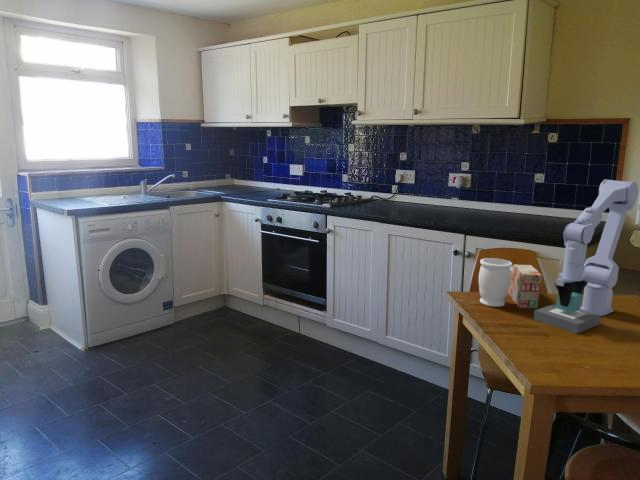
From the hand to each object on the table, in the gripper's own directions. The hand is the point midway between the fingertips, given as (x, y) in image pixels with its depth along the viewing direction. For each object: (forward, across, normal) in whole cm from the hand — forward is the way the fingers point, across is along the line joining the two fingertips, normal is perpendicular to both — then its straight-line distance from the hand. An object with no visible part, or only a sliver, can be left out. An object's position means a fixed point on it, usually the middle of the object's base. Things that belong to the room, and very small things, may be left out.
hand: (568, 304), depth 158 cm
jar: (+6, +5, -24) cm, 25 cm away
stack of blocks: (+6, -8, -22) cm, 24 cm away
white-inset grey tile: (+6, 0, 0) cm, 6 cm away
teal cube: (+2, 0, 0) cm, 2 cm away
